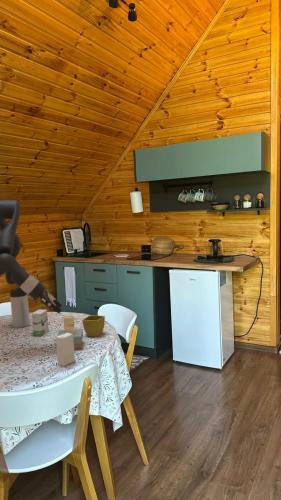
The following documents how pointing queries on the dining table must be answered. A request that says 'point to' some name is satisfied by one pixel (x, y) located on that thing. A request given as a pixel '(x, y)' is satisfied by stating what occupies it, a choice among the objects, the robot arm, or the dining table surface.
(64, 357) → the skincare box
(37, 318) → the ink box
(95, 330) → the flower pot
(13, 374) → the dining table surface
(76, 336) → the tower top slab
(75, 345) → the tower base slab
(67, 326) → the maple block
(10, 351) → the dining table surface
